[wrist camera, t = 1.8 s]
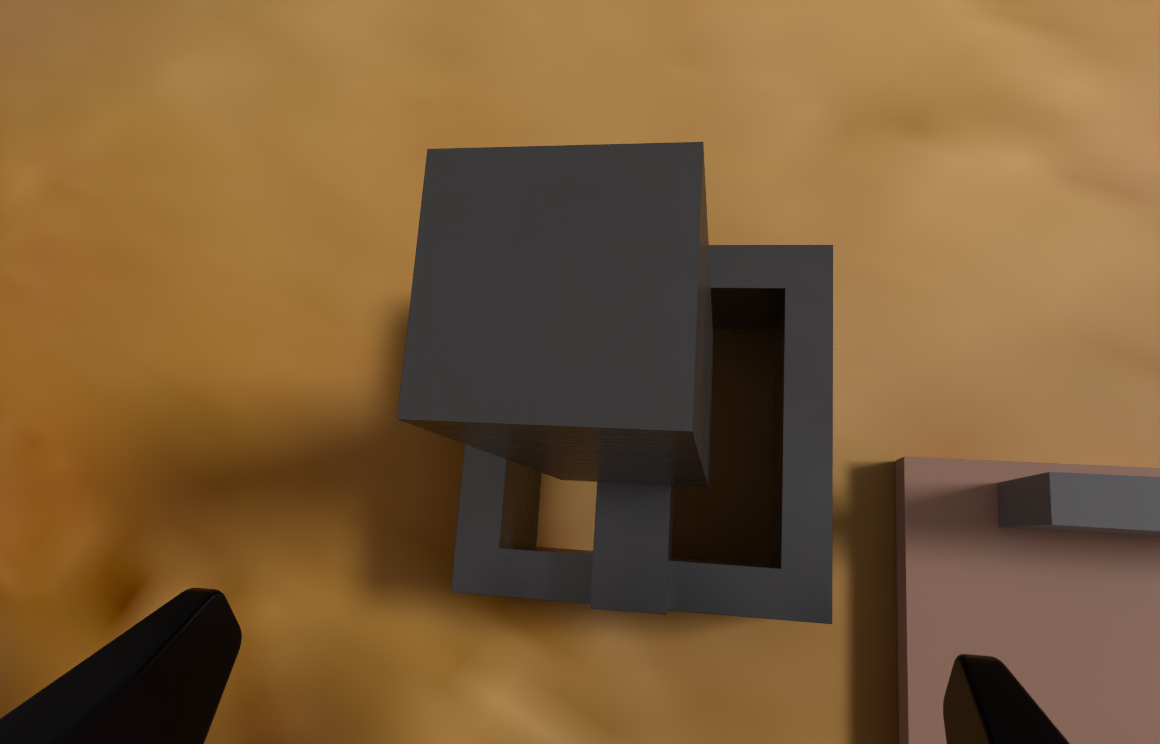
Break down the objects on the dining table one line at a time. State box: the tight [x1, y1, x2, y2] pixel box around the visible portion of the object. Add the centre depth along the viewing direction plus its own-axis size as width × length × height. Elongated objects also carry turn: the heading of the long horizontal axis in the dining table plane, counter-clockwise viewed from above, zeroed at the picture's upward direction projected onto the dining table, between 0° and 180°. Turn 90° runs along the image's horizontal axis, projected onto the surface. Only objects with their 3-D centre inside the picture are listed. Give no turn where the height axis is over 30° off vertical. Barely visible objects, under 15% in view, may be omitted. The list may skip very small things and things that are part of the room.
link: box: [397, 142, 833, 624], centre depth 14 cm, size 8×8×13 cm
